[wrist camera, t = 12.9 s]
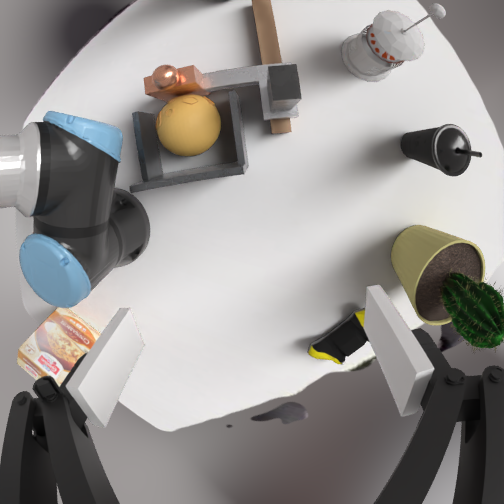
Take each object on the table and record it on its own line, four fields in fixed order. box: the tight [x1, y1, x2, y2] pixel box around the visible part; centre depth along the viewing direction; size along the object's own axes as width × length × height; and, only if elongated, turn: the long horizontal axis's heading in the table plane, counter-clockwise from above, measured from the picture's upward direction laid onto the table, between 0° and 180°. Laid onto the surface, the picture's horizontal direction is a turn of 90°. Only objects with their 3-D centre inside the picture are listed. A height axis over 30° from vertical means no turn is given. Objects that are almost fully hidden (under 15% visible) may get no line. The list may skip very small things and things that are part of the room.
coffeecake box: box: [17, 307, 101, 387], centre depth 54 cm, size 15×7×20 cm, turn 52°
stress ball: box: [156, 94, 221, 156], centre depth 41 cm, size 10×10×10 cm
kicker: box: [144, 63, 301, 121], centre depth 35 cm, size 20×9×17 cm, turn 97°
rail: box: [252, 0, 291, 134], centre depth 40 cm, size 3×25×3 cm, turn 8°
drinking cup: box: [401, 124, 482, 176], centre depth 35 cm, size 8×8×20 cm
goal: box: [130, 91, 248, 193], centre depth 41 cm, size 16×12×12 cm
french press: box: [341, 3, 446, 82], centre depth 27 cm, size 10×12×25 cm
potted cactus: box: [391, 225, 504, 349], centre depth 38 cm, size 15×15×30 cm
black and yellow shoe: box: [308, 308, 370, 365], centre depth 57 cm, size 15×6×10 cm
